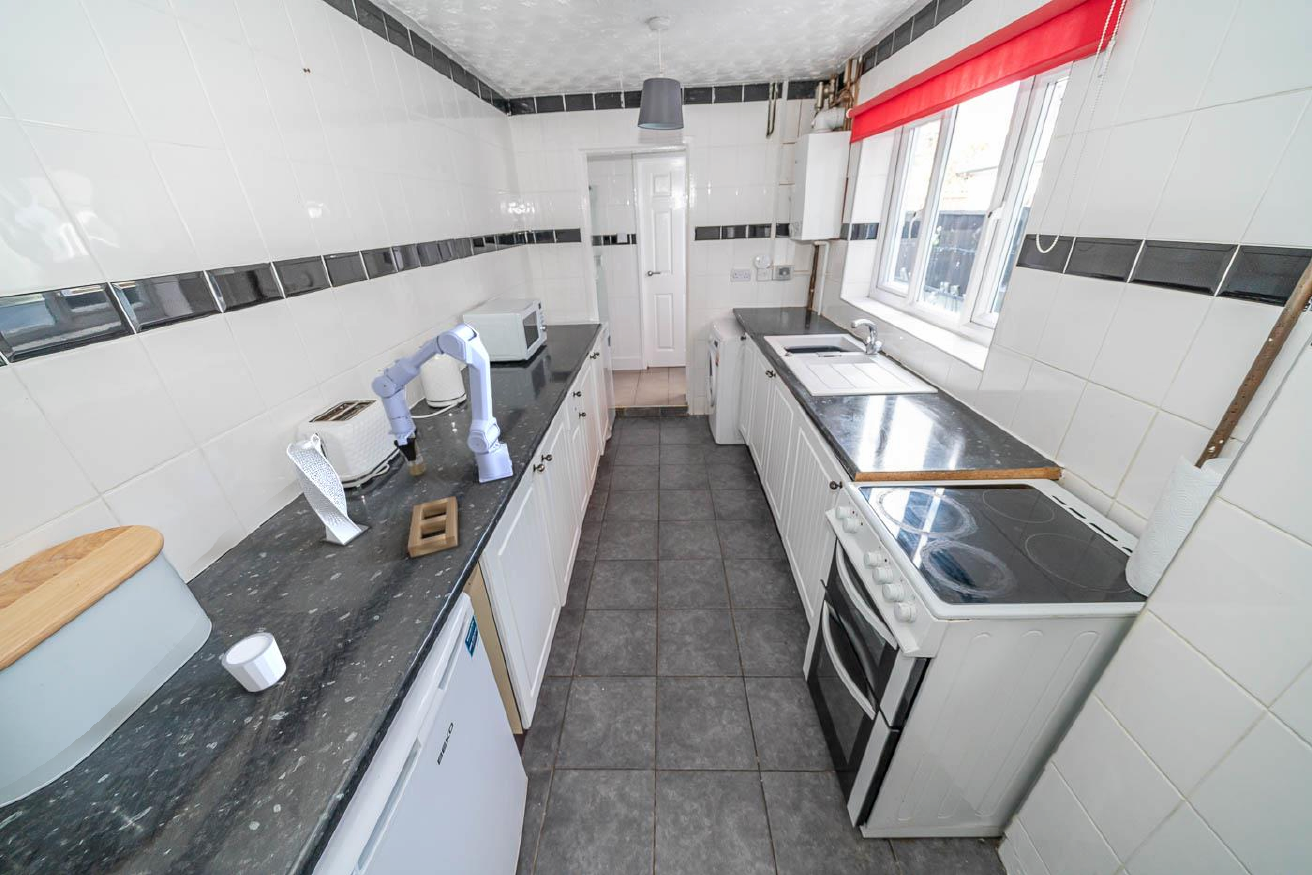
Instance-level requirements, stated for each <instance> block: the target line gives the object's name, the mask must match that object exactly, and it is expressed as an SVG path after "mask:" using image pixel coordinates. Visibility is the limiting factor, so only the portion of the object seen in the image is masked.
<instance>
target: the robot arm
mask: <svg viewBox="0 0 1312 875" xmlns="http://www.w3.org/2000/svg"><path fill="white" fill-rule="evenodd" d="M437 354H438V355H441V356H442V355H444V354H445V355H447V356H449V357H452V358H453V359H456V360H458V361H460V362H462V363H464V364H465V365H466V366H467V367H468V377H469V390H470V392H469V393H470V404H471V405H470V407H471V415H472V416H471V417H472V420H471V423H470V427H469V435H468V437H467V439H466V445H467V447H468V449H469V450H470V451H471V452H473V454H474V457H475V461H476V465H477V469H478V481H479V483H481V484H482V483H487V482H491V481H495V480H499V479H503V478H509V477H513V475H514V472H513V462H512V459H511V458H510V455H509V450H508V445H507V443H500V441H499V439H498V438H499V437H500V435H501V429H500V427H499V425H498V423H497V418H496V417H494V416H493V404H492V402H493V400H492V383H491V382H492V380H491V362H490V355H489V354H488V351H487V350H486V348H485V346H484V345H483V343H482V341H481V338H480V333H479V332H478V331H477V330H475V328H473V327H472V326H471V325H469V324H467V323H463V322H461V323H457V324H455V325H454V326H453V327H452V328H449V329H447V330H446V331H442V332H441V333H440V334H438V335H436V336H435V337H433V338H431V339H429V341H427V342H426V343H425V344H424V345H423V346H422V347H420V348H419V349H418V350H417V351H416V352H415V353H414V354H412V356H402V357H400V356H399V357H397V358H396V359H395V360H394V361H393V362H394V363H393V365H391V366H390V367H389V368H388V367H386V368H385V369H384V370H383V371H382V372H383V374H380V375H379V376H376V377H374V378H373V380H372V382H371V389H372V391H373V393H374V394H375V395H376V396H377V397H379V398H380V400H381V402H382V403H381V404H382V406H383V409H384V411H385V414H386V418H387V419H388V422H389V425H390V428H391V429H389V430H387V433H388V435H393V436H394V437H395V438H396V439H394V440H393V445H394V446H395V447H396V448H397V449H398V450H399V451H400V452H401V453H402V454H403V457H404V456H405V457H406V459H407V460H408V461H413V460H416V451H415V440H416V442H417V443H418V441H417V438H418V437H417V436H418V431H419V429H418V427H416V425H415V423H414V420H413V417H412V414H411V411H410V408H409V405H408V402H407V399H406V396H405V390H404V388H405V386H407V384H409V383H410V382H412V380H414V379H415V378H416V377H418V376H419V375H420V374H421V369H422V368H421V366H423V365H424V364H426V363H427V362H428V361H429V360H431V359H432V358H433V357H434V356H435V355H437ZM413 432H414V433H415V438H410V439H409V438H408V436H409V435H410V434H411V433H413ZM405 457H404V458H405Z"/></svg>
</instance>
